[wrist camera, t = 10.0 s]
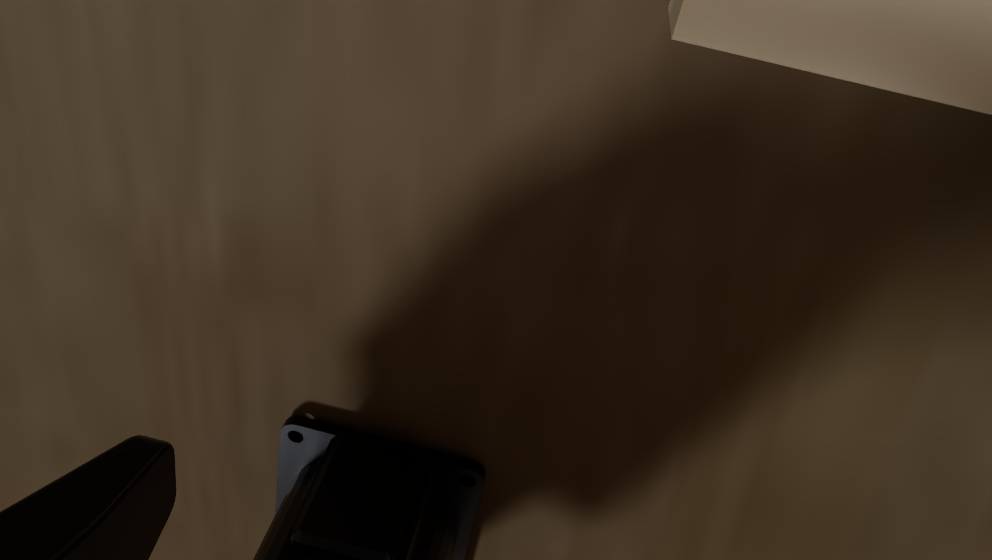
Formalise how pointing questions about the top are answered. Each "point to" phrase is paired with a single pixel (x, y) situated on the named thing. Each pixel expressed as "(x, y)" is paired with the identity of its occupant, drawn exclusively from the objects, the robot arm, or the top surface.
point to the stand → (857, 41)
